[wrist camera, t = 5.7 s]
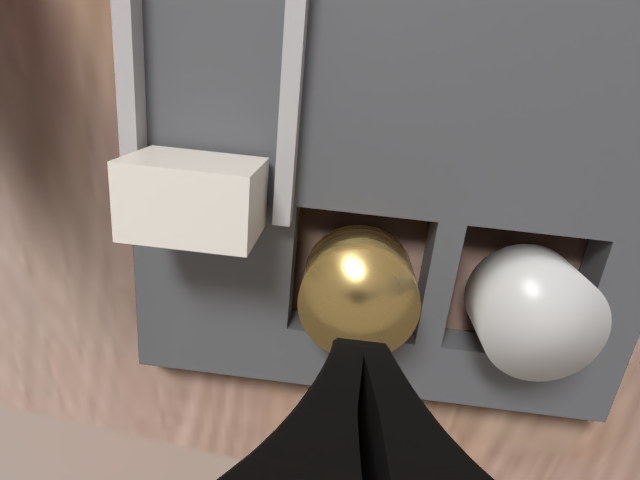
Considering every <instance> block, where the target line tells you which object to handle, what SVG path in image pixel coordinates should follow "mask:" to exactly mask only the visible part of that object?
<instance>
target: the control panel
mask: <svg viewBox="0 0 640 480" xmlns="http://www.w3.org/2000/svg"><path fill="white" fill-rule="evenodd" d="M111 17H112V34H113V51H114V68H115V84H116V101H117V118H118V135H119V151H120V157H121V156H124V155H127V154H129V153H132V152H135V151H138V150H140V149H143V148H146V147H148V146H151V145H156V146H165V147H174V148H184V149H193V150H202V151H212V152H221V153H230V154H240V155H249V156H258V157H268V158H269V173H268V192H267V210H266V226H265V227H264V229H263V231H262V232H261V234H260V236H259V238H258V239H257V241H256V243H255V244H254V246H253V248H252V249H251V251H250V253H249V255H248V256H247V258H245V257H236V256H228V255H219V254H210V253H202V252H193V251H185V250H176V249H167V248H159V247H150V246H141V245H133V255H134V274H135V292H136V311H137V330H138V349H139V364H144V365H152V366H160V367H168V368H176V369H184V370H192V371H199V372H207V373H215V374H223V375H231V376H239V377H247V378H255V379H263V380H271V381H279V382H287V383H295V384H303V385H312V384H313V382H314V381H315V379H316V377H317V376H318V374H319V372H320V371H321V369H322V367H323V365H324V363H325V361H326V359H327V357H328V355H329V352H327V351H326V350H324V349H322V348H321V347H320V346H318V345H317V344H316V343H315V342H314V341H313V340H312V339H311V338H310V337H309V336H308V334H307V333H306V331H305V330H304V328H303V326H302V324H301V322H300V318H299V315H298V311H292V302H293V290H294V277H295V265H296V253H297V240H298V228H299V216H300V207H305V208H314V209H323V210H332V211H341V212H350V213H359V214H368V215H377V216H386V217H395V218H404V219H413V220H422V221H430V223H429V229H428V234H427V239H426V245H425V250H424V255H423V261H422V266H421V272H420V277H419V282H418V290H419V293H420V299H421V312H420V317H419V321H418V324H417V326H416V328H415V330H414V332H413V333H412V335H411V336H410V337H409V338H408V340H407V341H406V342H405V343H404V344H402V345H401V346H400V347H399V348H397V349H396V350H394V351H392V354H393V356H394V358H395V360H396V361H397V363H398V365H399V366H400V368H401V370H402V371H403V373H404V375H405V376H406V378H407V379H408V381H409V383H410V384H411V386H412V387H413V388H414V390H415V391H416V393H417V394H418V396H419V397H420V399H423V400H431V401H438V402H446V403H454V404H462V405H470V406H478V407H486V408H494V409H502V410H510V411H518V412H526V413H534V414H542V415H550V416H558V417H566V418H574V419H582V420H590V421H598V422H606V419H607V417H608V414H609V411H610V409H611V406H612V404H613V401H614V399H615V396H616V393H617V391H618V388H619V386H620V383H621V381H622V378H623V376H624V373H625V370H626V368H627V365H628V363H629V360H630V358H631V355H632V352H633V350H634V347H635V345H636V342H637V340H638V337H639V334H640V0H111ZM467 226H476V227H485V228H494V229H503V230H512V231H521V232H530V233H539V234H548V235H557V236H566V237H575V238H584V239H589V241H588V244H587V247H586V250H585V253H584V257H583V260H582V263H581V266H580V269H579V272H580V273H581V274H582V275H583V276H584V277H586V278H587V279H588V280H589V281H590V282H591V283H592V284H593V285H594V286H596V287H597V288H598V289H599V290H600V291H601V293H602V294H603V295H604V297H605V298H606V300H607V302H608V304H609V307H610V310H611V315H612V325H611V331H610V335H609V338H608V340H607V342H606V344H605V346H604V348H603V349H602V351H601V352H600V353H599V355H598V356H597V357H596V358H595V359H594V360H593V361H592V362H591V363H590V364H588V365H587V366H586V367H584V368H583V369H581V370H580V371H578V372H576V373H574V374H572V375H570V376H567V377H564V378H561V379H557V380H552V381H543V382H534V381H526V380H521V379H518V378H514V377H512V376H510V375H508V374H506V373H504V372H502V371H501V370H500V369H498V368H497V367H496V366H495V365H494V364H493V363H492V362H491V361H490V359H489V358H488V356H487V355H486V352H485V350H484V348H483V346H482V344H481V342H480V340H479V337H478V335H477V333H476V332H468V331H459V330H451V329H445V326H446V322H447V317H448V312H449V308H450V303H451V299H452V294H453V289H454V285H455V280H456V276H457V271H458V266H459V262H460V257H461V253H462V248H463V243H464V239H465V234H466V229H467Z"/></svg>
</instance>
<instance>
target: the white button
mask: <svg viewBox="0 0 640 480" xmlns="http://www.w3.org/2000/svg"><path fill="white" fill-rule="evenodd" d="M464 302H465V307H466V311H467V313H468V315H469V318H470V320H471V322H472V324H473V326H474V329H475V331H476V333H477V335H478V337H479V340H480V342H481V344H482V346H483V348H484V350H485V352H486V355H487V356H488V358H489V359H490V361H491V362H492V363H493V364H494V365H495V366H496V367H497V368H498V369H500V370H501V371H502V372H504V373H506V374H508V375H510V376H512V377H514V378H518V379H521V380H526V381H534V382H543V381H552V380H557V379H561V378H564V377H567V376H570V375H572V374H574V373H576V372H578V371H580V370H581V369H583V368H584V367H586V366H587V365H588V364H590V363H591V362H592V361H593V360H594V359H595V358H596V357H597V356H598V355H599V353H600V352H601V351H602V349H603V348H604V346H605V344H606V342H607V340H608V338H609V335H610V331H611V325H612V315H611V310H610V307H609V304H608V302H607V300H606V298H605V297H604V295H603V294H602V293H601V291H600V290H599V289H598V288H597V287H596V286H594V285H593V284H592V283H591V282H590V281H589V280H588V279H587V278H586V277H584V276H583V275H582V274H581V273H580V272H579V271H578V270H577V269H576V268H575V267H573V266H572V265H571V264H570V263H569V262H568V261H567V260H566V259H565V258H563V257H562V256H561V255H560V254H559V253H557V252H556V251H554V250H552V249H550V248H548V247H544V246H541V245H536V244H516V245H511V246H507V247H504V248H502V249H499V250H497V251H495V252H493V253H492V254H490V255H488V256H487V257H486V258H484V259H483V260H482V261H481V262H480V263H479V264H478V265H477V266H476V267H475V269H474V270H473V272H472V273H471V275H470V277H469V279H468V281H467V284H466V287H465V293H464Z"/></svg>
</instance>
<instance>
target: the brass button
mask: <svg viewBox="0 0 640 480" xmlns="http://www.w3.org/2000/svg"><path fill="white" fill-rule="evenodd" d="M297 308H298V315H299V318H300V322H301V324H302V326H303V328H304V330H305V331H306V333H307V334H308V336H309V337H310V338H311V339H312V340H313V341H314V342H315V343H316V344H317V345H318V346H320V347H321V348H322V349H324V350H326V351H327V352H329V353H330V350H331V347H332V343H333V341H334V340H335V339H336V338H345V339H353V340H362V341H370V342H379V343H386V344H387V346H388V347H389V349H390V350H391V352H392V351H394V350H396V349H397V348H399V347H400V346H401V345H402V344H404V343H405V342H406V341H407V340H408V338H409V337H410V336H411V335H412V333H413V332H414V330H415V328H416V326H417V324H418V321H419V317H420V312H421V299H420V293H419V290H418V286H417V283H416V279H415V276H414V272H413V268H412V265H411V262H410V259H409V256H408V254H407V252H406V250H405V249H404V247H403V246H402V244H401V243H400V242H399V241H398V240H397V239H396V238H394V237H393V236H392V235H390V234H389V233H387V232H386V231H383V230H381V229H379V228H376V227H372V226H367V225H350V226H345V227H341V228H338V229H336V230H334V231H332V232H330V233H328V234H327V235H325V236H324V237H323V238H322V239H320V240H319V241H318V243H317V244H316V245H315V246H314V248H313V249H312V251H311V253H310V255H309V257H308V260H307V263H306V267H305V271H304V275H303V278H302V282H301V286H300V290H299V294H298V303H297Z"/></svg>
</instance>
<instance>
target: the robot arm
mask: <svg viewBox="0 0 640 480" xmlns="http://www.w3.org/2000/svg"><path fill="white" fill-rule="evenodd" d="M217 480H494V479H493V478H492V477H491V476H490V475H488V474H487V473H486V472H485V471H484V470H483V469H482V468H481V467H480V466H478V465H477V464H476V463H475V462H474V461H473V460H472V459H471V458H470V457H469V456H468V455H467V454H466V453H465V452H464V451H463V450H462V449H461V447H460V446H459V445H458V444H457V443H456V442H455V441H454V440H453V439H452V438H451V437H450V436H449V435H448V434H447V432H446V431H445V430H444V429H443V428H442V426H441V425H440V424H439V423H438V421H437V420H436V419H435V418H434V416H433V415H432V414H431V412H430V411H429V410H428V408H427V407H426V406H425V404H424V403H423V402H422V400H421V399H420V397H419V396H418V394H417V393H416V391H415V390H414V388H413V387H412V386H411V384H410V383H409V381H408V379H407V378H406V376H405V375H404V373H403V371H402V370H401V368H400V366H399V365H398V363H397V361H396V360H395V358H394V356H393V354H392V352H391V350H390V349H389V347H388V346H387V344H386V343H379V342H370V341H362V340H353V339H345V338H336V339H335V340H334V341H333V343H332V347H331V350H330V353H329V355H328V357H327V359H326V361H325V363H324V365H323V367H322V369H321V371H320V372H319V374H318V376H317V377H316V379H315V381H314V382H313V384H312V385H311V387H310V388H309V389H308V391H307V392H306V394H305V395H304V396H303V398H302V399H301V400H300V402H299V403H298V404H297V406H296V407H295V408H294V409H293V411H292V412H291V413H290V414H289V415H288V417H287V418H286V419H285V420H284V421H283V422H282V423H281V424H280V425H279V426H278V428H277V429H276V430H275V431H274V432H273V433H272V434H271V435H269V436H268V437H267V438H266V439H265V440H264V441H263V442H262V443H261V444H260V445H259V446H258V447H257V448H256V449H255V450H254V451H252V452H251V453H250V454H249V455H248V456H246V457H245V458H244V459H243V460H241V461H240V462H239V463H238V464H236V465H235V466H234V467H232V468H231V469H230V470H229V471H227V472H226V473H225V474H223V475H222V476H221V477H219V478H218V479H217Z"/></svg>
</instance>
